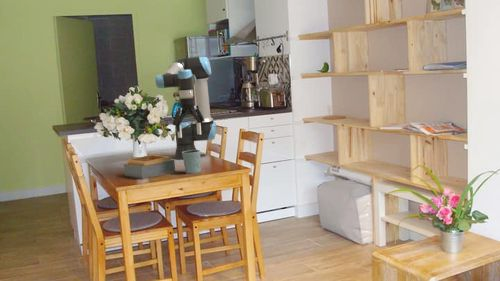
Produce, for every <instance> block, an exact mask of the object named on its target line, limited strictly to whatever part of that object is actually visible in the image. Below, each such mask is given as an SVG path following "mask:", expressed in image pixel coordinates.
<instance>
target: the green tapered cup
mask: <svg viewBox="0 0 500 281" xmlns="http://www.w3.org/2000/svg"><path fill="white" fill-rule="evenodd" d="M182 156H183V159H182V160H183V165H184V171H185V172H184V173H185V174H187V175H194V174H199V173H201V172H202V171H201V170H202V169H201V150H200V149H196V150H188V151H184V152H182Z"/></svg>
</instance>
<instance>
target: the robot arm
mask: <svg viewBox="0 0 500 281" xmlns="http://www.w3.org/2000/svg"><path fill="white" fill-rule="evenodd" d="M210 75H212V68H211V62H210V60H209V58H208V57H207V56H195V57H192V56H191V57H182V58H178V59H177V60H174V61H173V62H172V63H171V64H170V65H169V66H168V69H167V70H166V71H165V72H164V73H163V74H157V75H155V76H156V77H155V86H156V87H157V88H158V89H166V88H168V89H169V88H179V89H178V90H179V91H178V93H179V98H180V99H179V103H180V104H179V105H180V107H176V110H175V115H174V117H173V121H172V125H173V126H174V129H175V130H174V132H175V142H176V144H175V145H176V148H175V153H174V160H175V159H176V160H183V156H182V152H184V151H188V150H197V148H196V145H195V142H199V141H200V142H201V141H204V142H205V141H213V140H215V138H216V133H217V122H216V121H214V118H212V116H211V107H210V106H211V105H210V98H209V86H208V80H209V78H210ZM193 88H194V89H193ZM194 97H195V98H194ZM194 104H195V105H194ZM188 115H190V116H192V117H193V118H194V120H195V123H194V122H193V121H192V120H189V121H184V122H183V120H184V118H185V117H186V116H188Z"/></svg>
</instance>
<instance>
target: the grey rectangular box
mask: <svg viewBox="0 0 500 281" xmlns="http://www.w3.org/2000/svg"><path fill="white" fill-rule="evenodd" d="M175 164H176V163H175V159H171V156H166V155H158V154H150V155H145V156H144V155H143V156H139V157H135V158H130V159H127V160H126V162H125V163H123V169H124V170H123V172H124V176H125V177H128V176H129V177H128V178H134V179H140V180H145V179H149V178H154V177H159V176H162V175H169V174H172V173H176V166H175Z"/></svg>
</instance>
